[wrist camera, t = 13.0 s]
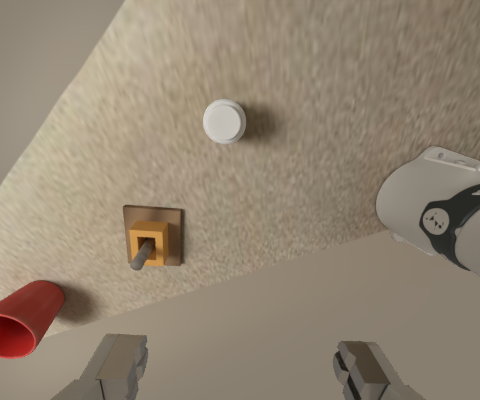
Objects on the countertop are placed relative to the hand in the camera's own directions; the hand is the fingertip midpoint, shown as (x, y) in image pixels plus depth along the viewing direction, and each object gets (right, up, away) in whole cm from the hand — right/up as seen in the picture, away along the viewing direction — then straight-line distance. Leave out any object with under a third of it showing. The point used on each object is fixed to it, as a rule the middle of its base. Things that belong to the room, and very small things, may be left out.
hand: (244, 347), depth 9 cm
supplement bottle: (-2, +19, +26) cm, 32 cm away
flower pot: (-41, -14, +37) cm, 57 cm away
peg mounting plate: (-17, -1, +33) cm, 37 cm away
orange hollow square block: (-16, -1, +32) cm, 36 cm away
